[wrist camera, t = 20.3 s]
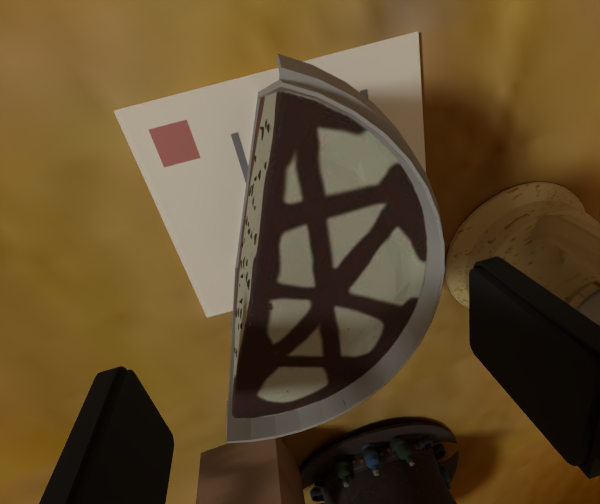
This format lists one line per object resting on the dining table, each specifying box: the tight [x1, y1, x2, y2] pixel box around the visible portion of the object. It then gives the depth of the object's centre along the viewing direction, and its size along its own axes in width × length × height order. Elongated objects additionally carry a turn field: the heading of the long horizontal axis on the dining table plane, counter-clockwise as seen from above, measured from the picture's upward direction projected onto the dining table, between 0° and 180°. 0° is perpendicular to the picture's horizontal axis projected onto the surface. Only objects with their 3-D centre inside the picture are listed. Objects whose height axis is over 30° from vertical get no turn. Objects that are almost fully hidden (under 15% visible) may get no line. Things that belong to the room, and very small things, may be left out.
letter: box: [114, 32, 426, 318], centre depth 19 cm, size 14×12×1 cm
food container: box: [226, 54, 445, 443], centre depth 15 cm, size 12×6×10 cm, turn 169°
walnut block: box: [196, 437, 305, 504], centre depth 27 cm, size 6×6×6 cm
